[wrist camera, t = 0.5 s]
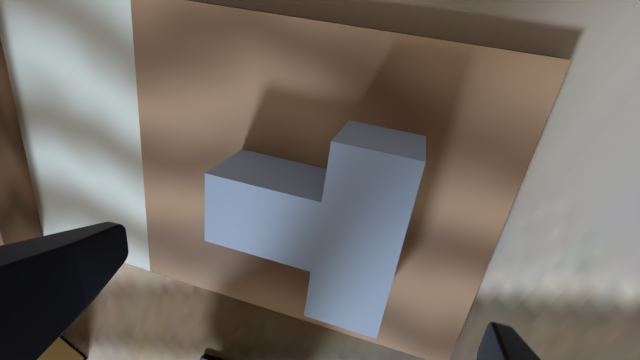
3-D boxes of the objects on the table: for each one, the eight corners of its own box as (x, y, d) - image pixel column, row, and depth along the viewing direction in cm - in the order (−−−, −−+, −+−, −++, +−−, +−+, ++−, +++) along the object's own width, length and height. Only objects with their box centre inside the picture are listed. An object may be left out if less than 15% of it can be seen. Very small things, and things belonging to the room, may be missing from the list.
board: (445, 351, 24) (449, 406, 21) (46, 226, 31) (-4, 252, 27) (562, 58, 17) (599, 66, 13) (-7, -30, 23) (-88, -42, 19)
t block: (384, 289, 22) (376, 338, 19) (236, 247, 24) (204, 284, 21) (425, 136, 18) (425, 162, 15) (244, 98, 20) (205, 113, 17)
